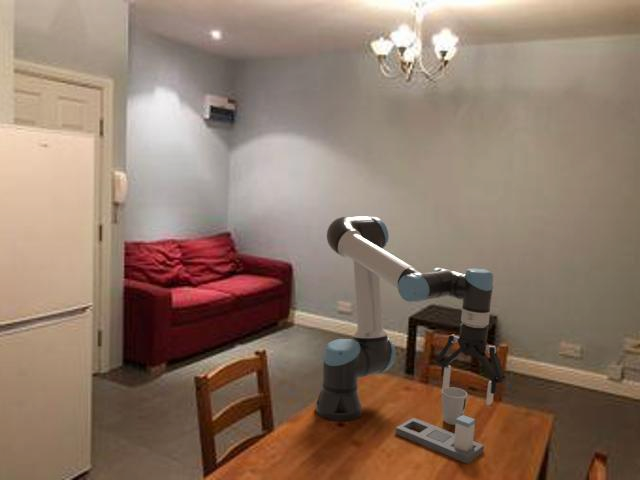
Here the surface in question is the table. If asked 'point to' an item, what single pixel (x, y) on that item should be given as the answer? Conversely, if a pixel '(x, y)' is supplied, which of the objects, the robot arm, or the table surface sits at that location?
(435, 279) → the robot arm
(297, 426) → the table surface
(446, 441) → the panel
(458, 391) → the cup
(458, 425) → the plug
